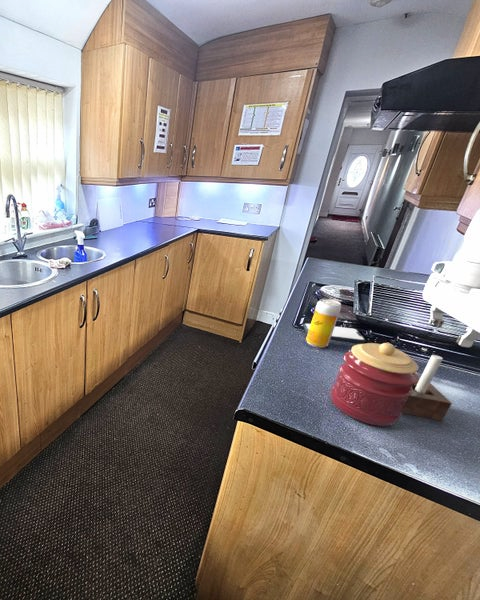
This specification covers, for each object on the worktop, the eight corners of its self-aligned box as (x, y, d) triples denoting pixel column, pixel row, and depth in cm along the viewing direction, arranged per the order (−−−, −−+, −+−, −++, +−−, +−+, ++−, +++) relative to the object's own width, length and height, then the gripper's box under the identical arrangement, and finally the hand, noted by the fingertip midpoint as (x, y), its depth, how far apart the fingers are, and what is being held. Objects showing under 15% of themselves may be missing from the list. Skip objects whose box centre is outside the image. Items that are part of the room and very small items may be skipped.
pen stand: (422, 400, 81) (431, 383, 79) (442, 420, 75) (452, 403, 73) (385, 393, 83) (392, 377, 82) (401, 412, 77) (409, 395, 75)
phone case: (308, 338, 111) (365, 345, 106) (309, 333, 110) (367, 340, 105) (301, 326, 119) (354, 332, 114) (302, 322, 118) (356, 328, 113)
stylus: (414, 404, 80) (439, 355, 74) (418, 409, 78) (444, 359, 73) (405, 403, 80) (429, 354, 75) (409, 407, 79) (434, 358, 73)
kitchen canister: (326, 383, 86) (348, 324, 79) (390, 400, 80) (419, 338, 73) (331, 414, 76) (356, 350, 69) (405, 436, 70) (441, 368, 63)
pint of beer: (305, 337, 110) (318, 296, 104) (327, 342, 107) (342, 300, 101) (304, 345, 106) (318, 303, 100) (327, 350, 103) (342, 307, 97)
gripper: (547, 294, 56) (505, 362, 62) (464, 264, 74) (436, 319, 80) (498, 289, 58) (462, 356, 63) (429, 261, 76) (404, 314, 81)
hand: (447, 335), depth 72 cm, fingers open, 8 cm apart
